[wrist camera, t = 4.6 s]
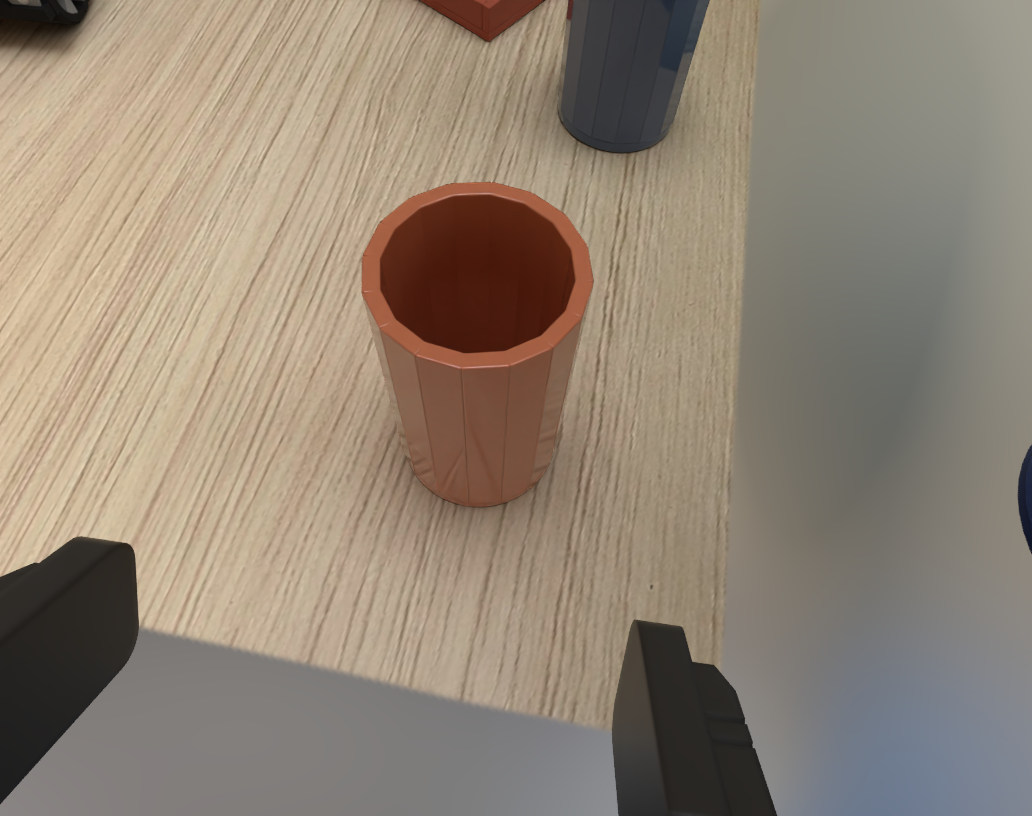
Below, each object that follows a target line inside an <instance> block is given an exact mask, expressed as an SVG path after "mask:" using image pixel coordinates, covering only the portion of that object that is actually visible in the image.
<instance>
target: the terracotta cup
mask: <svg viewBox="0 0 1032 816" xmlns="http://www.w3.org/2000/svg"><path fill="white" fill-rule="evenodd" d="M593 282H594V280H593V274H592V268H591V262H590V256H589V250H588V247H587V244H586V243H585V241H584V240H583V239H582V237H581V236H580V234H579V233H578V231H577V230H576V229H575V227H574V226H573V224H572V223H571V221H570V220H569V219H568V217H567V216H565V214H564V213H562V212H561V211H559V210H558V209H556V208H555V207H553V206H552V205H550V204H549V203H547V202H546V201H544V200H543V199H541V198H540V197H538V196H537V195H535V194H533V193H531V192H528V191H524V190H521V189H517V188H513V187H509V186H506V185H502V184H498V183H494V182H492V183H491V182H474V183H451V184H446V185H444V186H441V187H438V188H435V189H432V190H430V191H427V192H424V193H421V194H418V195H416V196H413V197H411V198H409V199H407V200H406V201H405V202H404V203H403V204H401V205H400V206H399V207H398V208H396V209H395V210H394V211H393V212H392V213H390V214H389V215H388V216H387V217H385V218H384V219H383V220H382V221H381V222H380V223H379V225H378V226H377V228H376V230H375V232H374V234H373V236H372V238H371V240H370V242H369V244H368V246H367V248H366V250H365V252H364V253H363V257H362V296H363V300H364V304H365V308H366V311H367V315H368V319H369V323H370V327H371V330H372V334H373V338H374V342H375V346H376V349H377V353H378V357H379V361H380V364H381V368H382V372H383V376H384V380H385V383H386V387H387V391H388V395H389V399H390V402H391V406H392V410H393V414H394V417H395V421H396V425H397V429H398V433H399V436H400V440H401V444H402V448H403V450H404V452H405V454H406V458H407V460H408V463H409V465H410V467H411V469H412V470H413V472H414V474H415V475H416V477H417V478H418V479H419V480H420V482H421V483H422V484H423V485H424V486H425V487H427V488H428V489H429V490H430V491H432V492H433V493H434V494H436V495H438V496H439V497H441V498H443V499H445V500H448V501H450V502H453V503H456V504H460V505H464V506H472V507H486V506H494V505H498V504H502V503H506V502H508V501H511V500H513V499H515V498H517V497H519V496H521V495H522V494H524V493H525V492H527V491H528V490H529V489H531V488H532V487H533V486H534V485H535V484H536V483H537V482H538V481H539V480H540V478H541V477H542V476H543V474H544V473H545V471H546V469H547V468H548V466H549V464H550V461H551V459H552V456H553V452H554V448H555V445H556V442H557V439H558V435H559V430H560V426H561V422H562V417H563V413H564V409H565V404H566V400H567V396H568V392H569V387H570V383H571V379H572V374H573V370H574V366H575V362H576V357H577V353H578V349H579V344H580V340H581V336H582V332H583V327H584V323H585V319H586V314H587V310H588V306H589V301H590V297H591V293H592V289H593Z"/></svg>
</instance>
